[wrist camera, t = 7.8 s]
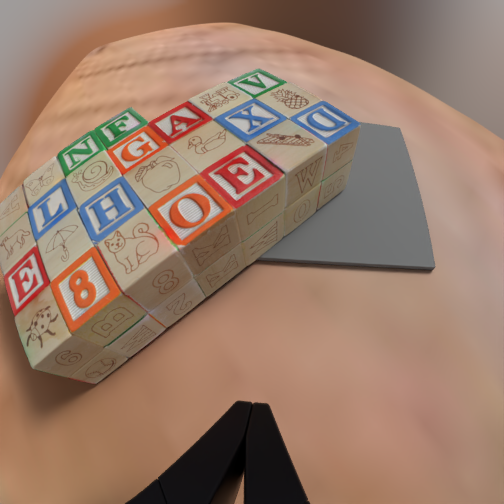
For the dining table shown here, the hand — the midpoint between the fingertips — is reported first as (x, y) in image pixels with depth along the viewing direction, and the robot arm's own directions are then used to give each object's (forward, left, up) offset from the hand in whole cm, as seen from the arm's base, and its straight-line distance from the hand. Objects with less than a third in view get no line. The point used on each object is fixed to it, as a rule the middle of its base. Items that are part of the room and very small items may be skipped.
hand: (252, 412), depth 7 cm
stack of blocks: (+7, +3, -5) cm, 9 cm away
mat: (+16, 0, -9) cm, 18 cm away
